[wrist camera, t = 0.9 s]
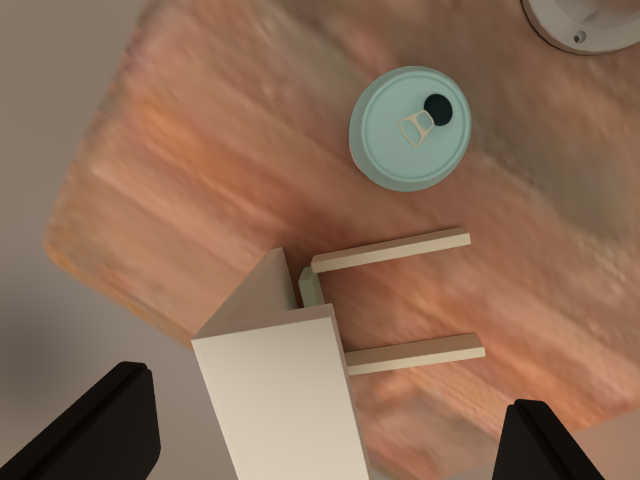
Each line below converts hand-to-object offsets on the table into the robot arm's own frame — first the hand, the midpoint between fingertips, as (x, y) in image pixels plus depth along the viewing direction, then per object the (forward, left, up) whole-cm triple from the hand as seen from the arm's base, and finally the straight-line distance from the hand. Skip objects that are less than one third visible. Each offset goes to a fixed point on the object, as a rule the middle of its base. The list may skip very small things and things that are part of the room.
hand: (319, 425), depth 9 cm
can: (-6, -7, -24) cm, 26 cm away
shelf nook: (-1, +8, -24) cm, 25 cm away
